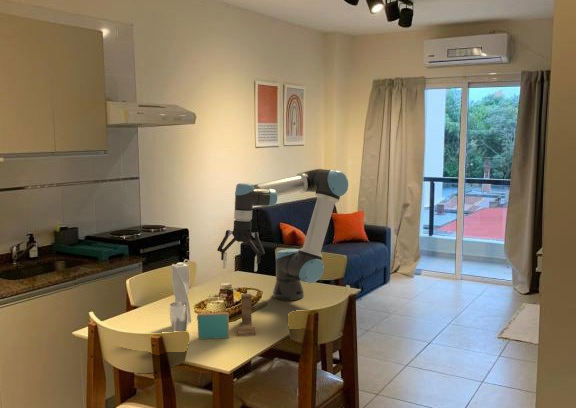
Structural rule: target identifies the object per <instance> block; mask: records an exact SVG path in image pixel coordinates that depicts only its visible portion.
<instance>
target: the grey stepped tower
mask: <svg viewBox="0 0 576 408" xmlns="http://www.w3.org/2000/svg"><path fill="white" fill-rule="evenodd" d="M240 297H241V300H240V301H241V327H237V336H238V337H239V336H240V337H241V336H256V326H253V325H252V318H253V317H252V294H251V293H241V295H240Z"/></svg>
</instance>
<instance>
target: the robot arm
mask: <svg viewBox="0 0 576 408" xmlns="http://www.w3.org/2000/svg"><path fill="white" fill-rule="evenodd" d="M348 189H349V180H348V178H347V176H346V174H345V173H344V172H343V171H340V170H336V169H324V168H315V169H311V170H306V171H302V172H299V173H296V175H295V176H290V177H285V178H281V179H280V178H279V179H275V180H270V181H265V182H260V183H256V184H253V183H244V182H243V183H242V182H240V183H237V184H236V187H235V192H234V213H233V218H234V220H233V229H232V230H230V229H227V230H226V231H225V234H224V237H222V238H223V239H222V240H221V241H220V244H219V245H218V247H217V250H216V251H218V252H219V253H221V254H220V255H221V257H220V259H221V261H222V269H226V268H227V259H228V258H227V257H228V252H227V251H228V249H230V247H231V246H232V245H233V244H234V243H235V242H236V241H237V242H238V243H241V242H242V243H247V244H248V245H249V246H250V248H251V250H253V252H254V253H255V256H254V266H253V267H254V269H253V272H254V273H255V272H257V271H258V264H260V263H261V256H264V255H265V253H266V252H265V249H264V246H263V244H262V241H261V240H260V237H259V236H260V235H259V232H253V231H252V226H253V225H252V219H253V207H271V206H275V205H276V204H277V202H278V197H280V196H284V195H288V194H292V193H298V192H299V193H308V192H309V193H315V197H316V202H315V205H314V208H313V212H312V215H311V218H310V221H309V222H310V223H309V226H308V229H307V232H306V234H305V238H304V242H303V246H302V247H301V248H288V249H287V248H286V249H281V250H278V251H276V253H275V277H276V279H275V284H274V287H273V289H272V290H273V291H272V297H273V298H274V299H276V300H278V301H279V300H280V301H296V300H301V299H303V298H304V297H305V291H304V288H303V284H302V282H303V283H307V284H314V283H316V282H317V281H319V280H321V278H322V276H323V274H324V271H325V266H324V262H323V261H322V260H323V255H322V253H321V251H322V250H323V249H322V248H323V246H324V242H325V237H326V234H327V232H328V228H329V224H330V222H331V221H330V220H331V217H332V214H333V211H334V208H335V204H337V203H338V202H339V201H340V198H341V197H342V196H344V195H345V194H346V193H347V191H348ZM231 235H232V236H233V238H232V239H231V240H230V242H229V243H227V244H226V242H227V241H228V239H229V237H230V236H231ZM251 237H253V238H254V239H255V242H256V245H257V246H258V247H257V246H256V245H255V243H254V242H253V240H252V238H251ZM225 244H226V245H225ZM224 245H225V247H224ZM223 247H224V248H223Z"/></svg>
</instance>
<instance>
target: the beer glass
mask: <svg viewBox="0 0 576 408" xmlns="http://www.w3.org/2000/svg"><path fill="white" fill-rule="evenodd" d="M169 319H170V324H171V325H170V326H171V329H172V332H173V331H187V330H188V325H187V323H188V308H187V303H186V302H182V301H178V302H175V301H174V302H171V303H169ZM187 332H188V331H187Z"/></svg>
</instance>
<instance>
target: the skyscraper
mask: <svg viewBox="0 0 576 408" xmlns="http://www.w3.org/2000/svg"><path fill="white" fill-rule="evenodd" d="M186 261H187V264H186V263H185V262H186ZM190 273H191V272H190V260H189V259H186V258H185V259H184V260H183V262H177V263H176V264H175V263H172V264H171V284H172V291H173V296H174V302H178V301H182V302H186V303H187V308H188V323H187V326H188V325H189V324H190V323H191V322H192V314H191V306H190V301H189V299H190V298H189V291H190V285H191V284H190V283H191V274H190Z"/></svg>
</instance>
